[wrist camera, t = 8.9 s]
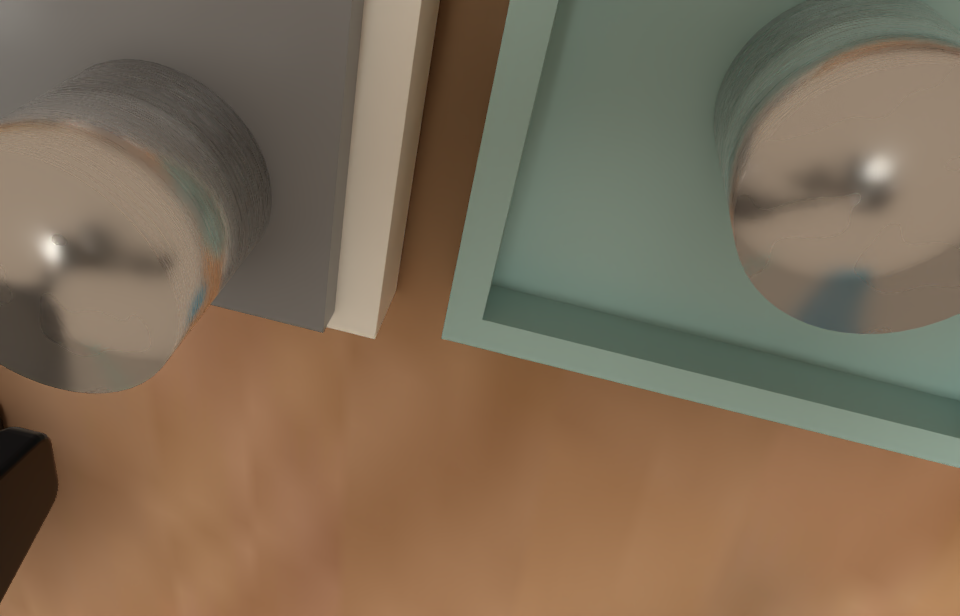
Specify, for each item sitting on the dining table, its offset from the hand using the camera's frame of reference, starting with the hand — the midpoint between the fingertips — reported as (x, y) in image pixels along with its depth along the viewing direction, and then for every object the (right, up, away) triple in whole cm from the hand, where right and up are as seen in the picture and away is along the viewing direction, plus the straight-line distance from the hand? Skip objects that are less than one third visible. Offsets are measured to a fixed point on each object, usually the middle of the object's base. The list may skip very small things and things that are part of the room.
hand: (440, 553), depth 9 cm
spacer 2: (+7, +6, +6) cm, 11 cm away
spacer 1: (-6, +5, +7) cm, 10 cm away
